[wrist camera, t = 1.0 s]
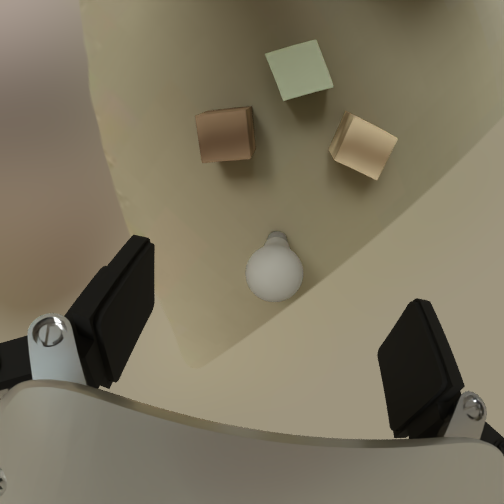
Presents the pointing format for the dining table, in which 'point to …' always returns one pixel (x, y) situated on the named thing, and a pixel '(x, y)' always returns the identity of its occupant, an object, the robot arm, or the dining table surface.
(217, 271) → the dining table surface
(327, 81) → the sage cube
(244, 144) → the walnut cube
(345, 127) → the beech cube
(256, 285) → the lightbulb
